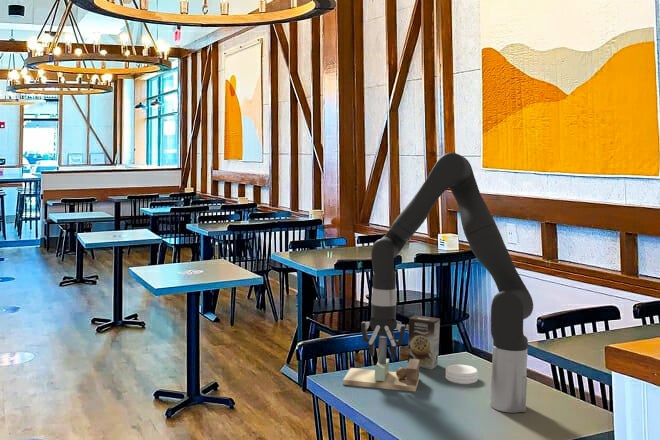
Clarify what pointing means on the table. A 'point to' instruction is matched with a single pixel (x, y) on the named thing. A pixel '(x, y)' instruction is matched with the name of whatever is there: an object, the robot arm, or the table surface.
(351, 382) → the base
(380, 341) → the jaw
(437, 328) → the coffee box
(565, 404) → the table surface
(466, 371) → the white bowl
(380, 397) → the table surface
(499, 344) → the robot arm
